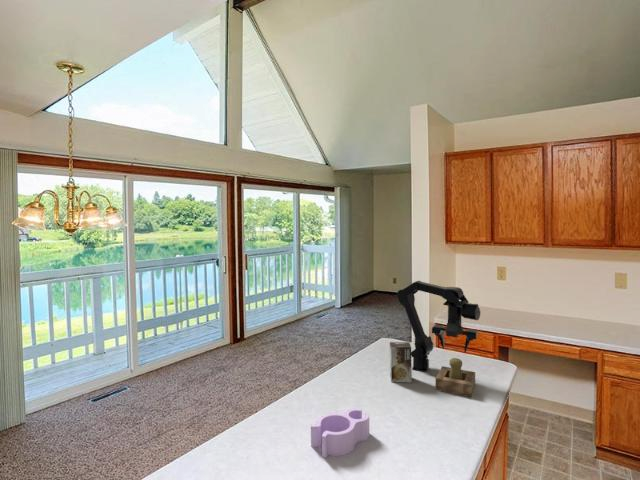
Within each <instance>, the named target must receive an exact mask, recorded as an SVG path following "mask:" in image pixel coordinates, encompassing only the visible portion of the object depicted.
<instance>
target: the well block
mask: <svg viewBox="0 0 640 480" xmlns="http://www.w3.org/2000/svg"><path fill="white" fill-rule="evenodd" d="M450 368H451V367H450V366H449V367H448V366H444V365H443V366H442V365H441V368H439V371H438V373H437V374H436V377H435V386H434V387H435V389H434V390H435V391H441V392H445V393H449V394H454V395H459V396H462V397H469V398H472V395H473V392H474V389H475V386H476V372H475V371H472V370H466V369H461V372H462V380H458V379H453V378H449V375H450Z"/></svg>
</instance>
